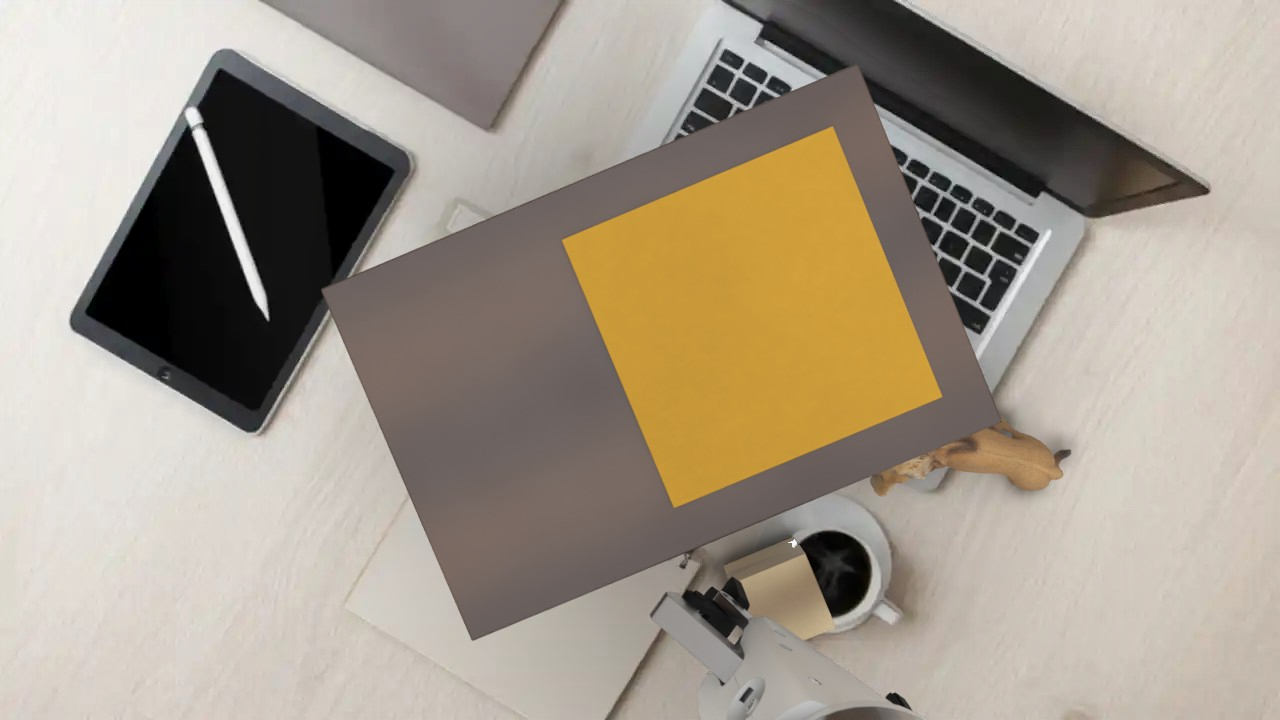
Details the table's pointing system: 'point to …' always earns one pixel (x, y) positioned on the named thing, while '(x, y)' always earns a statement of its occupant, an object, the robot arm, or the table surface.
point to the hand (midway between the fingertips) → (798, 661)
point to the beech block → (783, 589)
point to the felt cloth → (752, 317)
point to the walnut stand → (607, 375)
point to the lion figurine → (984, 460)
